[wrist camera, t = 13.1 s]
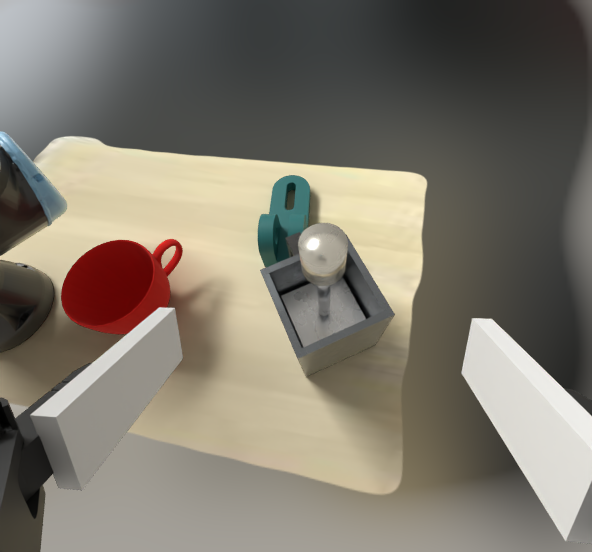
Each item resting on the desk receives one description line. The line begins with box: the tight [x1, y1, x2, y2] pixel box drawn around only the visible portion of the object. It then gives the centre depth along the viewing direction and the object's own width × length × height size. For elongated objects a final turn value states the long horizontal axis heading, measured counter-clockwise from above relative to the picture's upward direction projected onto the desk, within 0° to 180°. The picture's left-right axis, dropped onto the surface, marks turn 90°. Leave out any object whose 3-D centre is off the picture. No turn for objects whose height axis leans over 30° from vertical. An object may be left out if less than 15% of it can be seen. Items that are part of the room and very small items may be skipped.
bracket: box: [258, 175, 310, 267], centre depth 52 cm, size 18×7×8 cm, turn 175°
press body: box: [260, 232, 395, 377], centre depth 41 cm, size 15×11×14 cm
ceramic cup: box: [61, 239, 183, 334], centre depth 47 cm, size 13×17×10 cm
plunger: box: [281, 223, 366, 347], centre depth 33 cm, size 9×9×17 cm
